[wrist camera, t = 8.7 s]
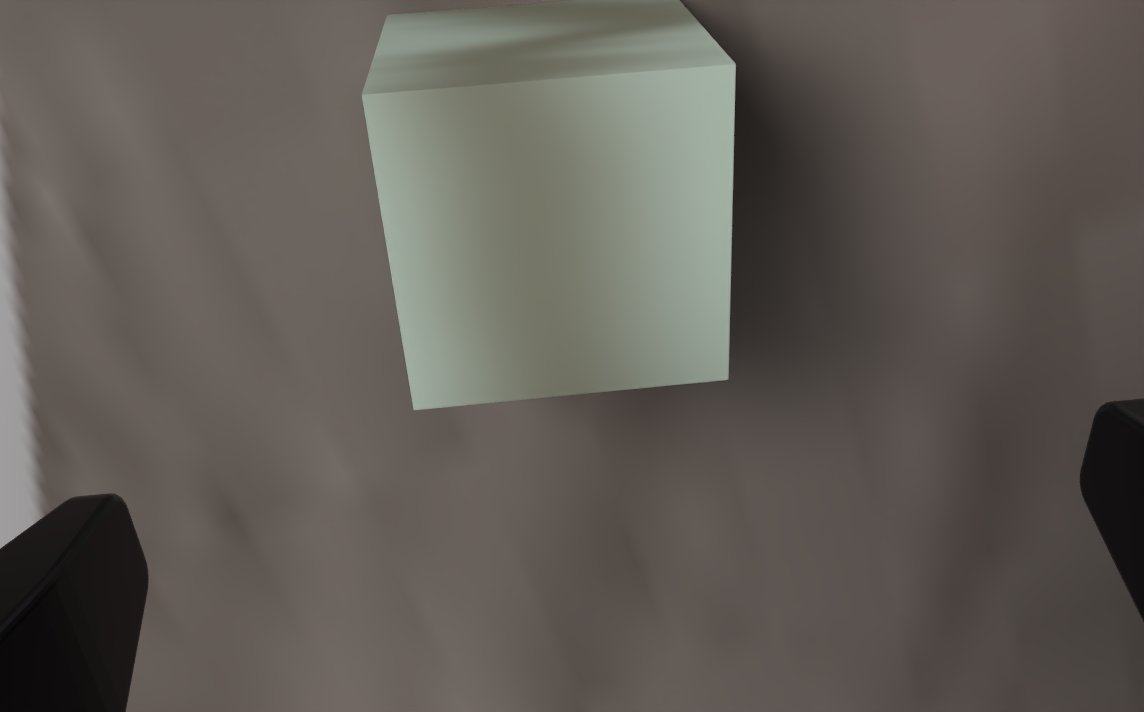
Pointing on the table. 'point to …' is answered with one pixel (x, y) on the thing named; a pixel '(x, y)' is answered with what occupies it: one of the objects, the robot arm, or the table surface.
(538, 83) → the sage block
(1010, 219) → the table surface
